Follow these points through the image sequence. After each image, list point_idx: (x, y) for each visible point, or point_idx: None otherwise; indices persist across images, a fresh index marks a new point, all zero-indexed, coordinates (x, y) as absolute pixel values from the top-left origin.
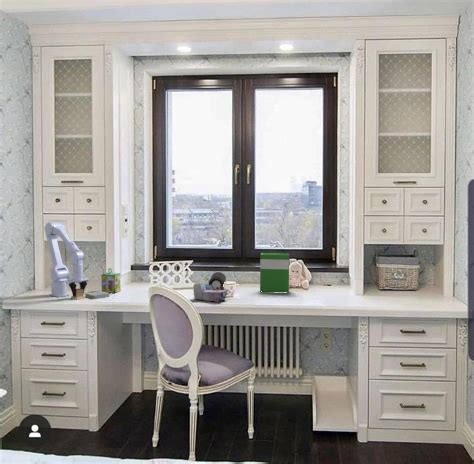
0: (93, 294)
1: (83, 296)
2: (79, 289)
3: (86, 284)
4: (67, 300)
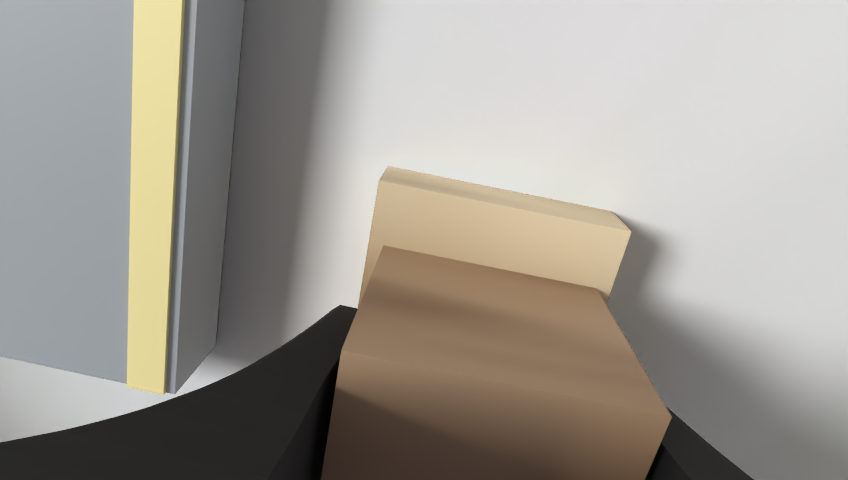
0: (111, 65)
1: (415, 210)
2: (456, 453)
3: (38, 449)
4: (786, 354)
